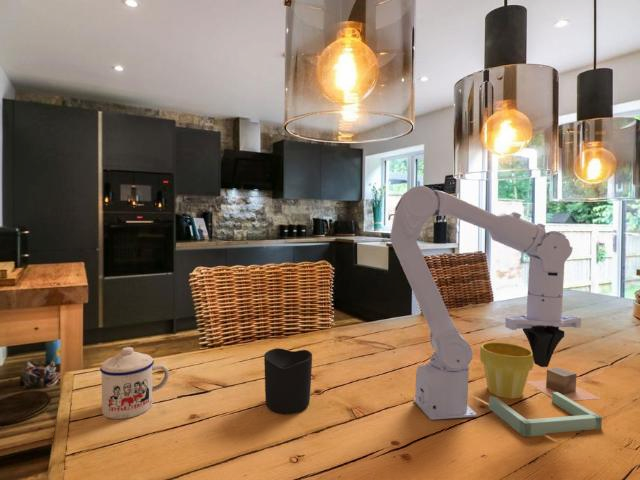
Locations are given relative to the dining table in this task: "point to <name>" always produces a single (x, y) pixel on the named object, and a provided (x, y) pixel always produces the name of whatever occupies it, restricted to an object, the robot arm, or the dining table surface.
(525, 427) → the frame
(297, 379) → the pen holder
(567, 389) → the walnut block
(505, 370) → the plant pot
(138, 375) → the teacup with lid
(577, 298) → the dining table surface
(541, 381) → the terracotta mat
